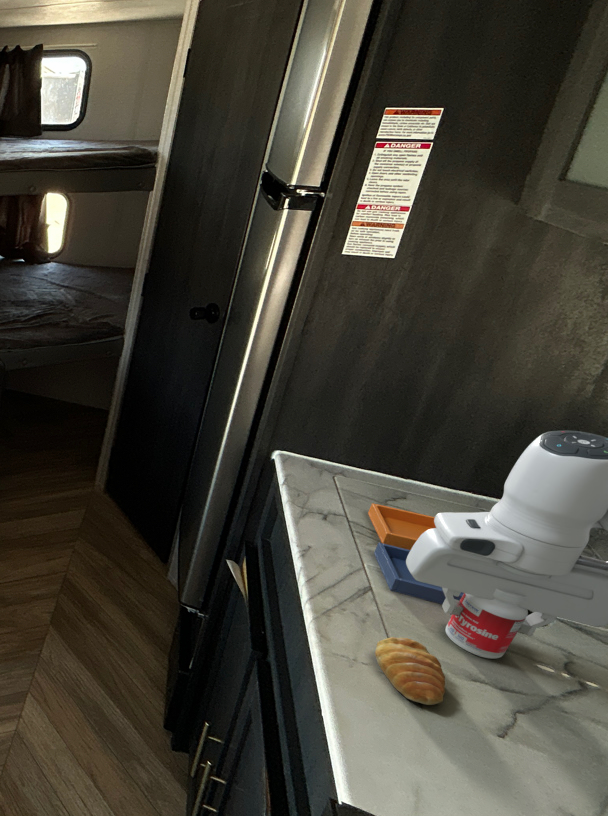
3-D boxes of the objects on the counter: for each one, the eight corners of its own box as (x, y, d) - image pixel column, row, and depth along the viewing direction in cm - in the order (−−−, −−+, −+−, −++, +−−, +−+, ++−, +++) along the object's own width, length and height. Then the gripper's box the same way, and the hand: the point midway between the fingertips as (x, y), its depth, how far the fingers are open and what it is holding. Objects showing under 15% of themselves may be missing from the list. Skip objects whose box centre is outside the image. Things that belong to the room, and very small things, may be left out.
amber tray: (444, 531, 115) (450, 520, 114) (466, 564, 107) (471, 553, 106) (367, 513, 120) (372, 502, 119) (382, 544, 112) (387, 533, 111)
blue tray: (458, 574, 105) (464, 563, 104) (483, 615, 97) (490, 603, 96) (373, 553, 110) (378, 542, 109) (390, 590, 101) (395, 578, 100)
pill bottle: (433, 632, 93) (464, 574, 89) (459, 622, 95) (490, 564, 91) (486, 665, 88) (521, 604, 84) (513, 654, 90) (548, 594, 86)
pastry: (455, 718, 80) (467, 697, 79) (388, 698, 83) (398, 677, 82) (427, 663, 88) (437, 643, 87) (367, 647, 91) (376, 627, 90)
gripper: (625, 554, 83) (575, 632, 88) (422, 509, 92) (388, 583, 97) (655, 584, 78) (600, 666, 83) (437, 534, 86) (400, 610, 92)
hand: (484, 621), depth 90 cm, fingers closed on pill bottle, 6 cm apart
